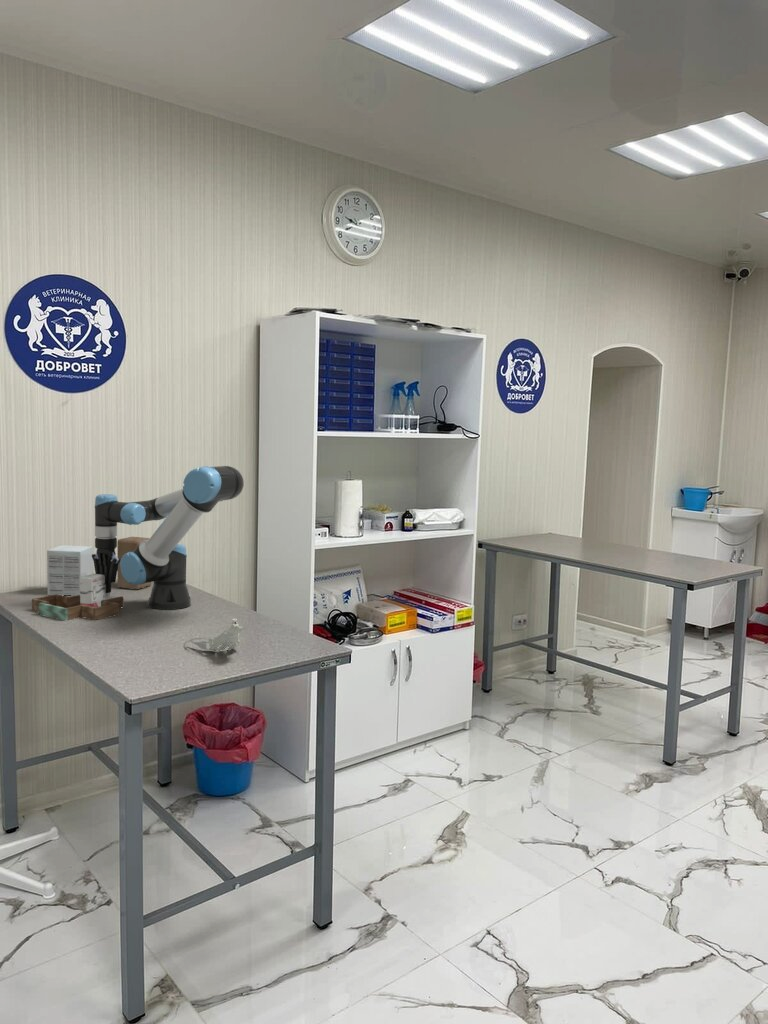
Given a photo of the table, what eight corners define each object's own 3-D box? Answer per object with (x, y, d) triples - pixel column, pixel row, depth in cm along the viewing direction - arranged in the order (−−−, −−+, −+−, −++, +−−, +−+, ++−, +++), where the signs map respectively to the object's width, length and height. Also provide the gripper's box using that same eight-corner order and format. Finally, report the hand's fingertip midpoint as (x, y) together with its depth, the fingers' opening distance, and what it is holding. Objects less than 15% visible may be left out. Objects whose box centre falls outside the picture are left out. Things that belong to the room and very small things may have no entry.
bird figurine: (232, 638, 249) (257, 597, 232) (239, 665, 245) (265, 625, 228) (182, 643, 241) (205, 601, 224) (189, 671, 236) (213, 630, 219)
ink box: (91, 611, 277) (90, 578, 275) (79, 610, 278) (78, 577, 277) (105, 606, 285) (105, 574, 284) (94, 605, 286) (93, 573, 285)
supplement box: (61, 588, 313) (60, 544, 311) (94, 589, 313) (93, 546, 311) (46, 595, 300) (46, 550, 298) (81, 596, 300) (80, 551, 298)
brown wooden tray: (136, 610, 281) (136, 599, 280) (79, 624, 260) (79, 612, 259) (84, 599, 295) (84, 589, 294) (25, 611, 274) (25, 600, 273)
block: (116, 588, 316) (116, 539, 314) (131, 583, 326) (131, 536, 324) (138, 590, 313) (138, 541, 311) (152, 586, 323) (152, 537, 321)
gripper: (126, 538, 284) (126, 602, 287) (102, 534, 290) (102, 596, 293) (109, 540, 277) (109, 605, 280) (85, 536, 284) (85, 600, 287)
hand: (105, 600), depth 287 cm, fingers closed
